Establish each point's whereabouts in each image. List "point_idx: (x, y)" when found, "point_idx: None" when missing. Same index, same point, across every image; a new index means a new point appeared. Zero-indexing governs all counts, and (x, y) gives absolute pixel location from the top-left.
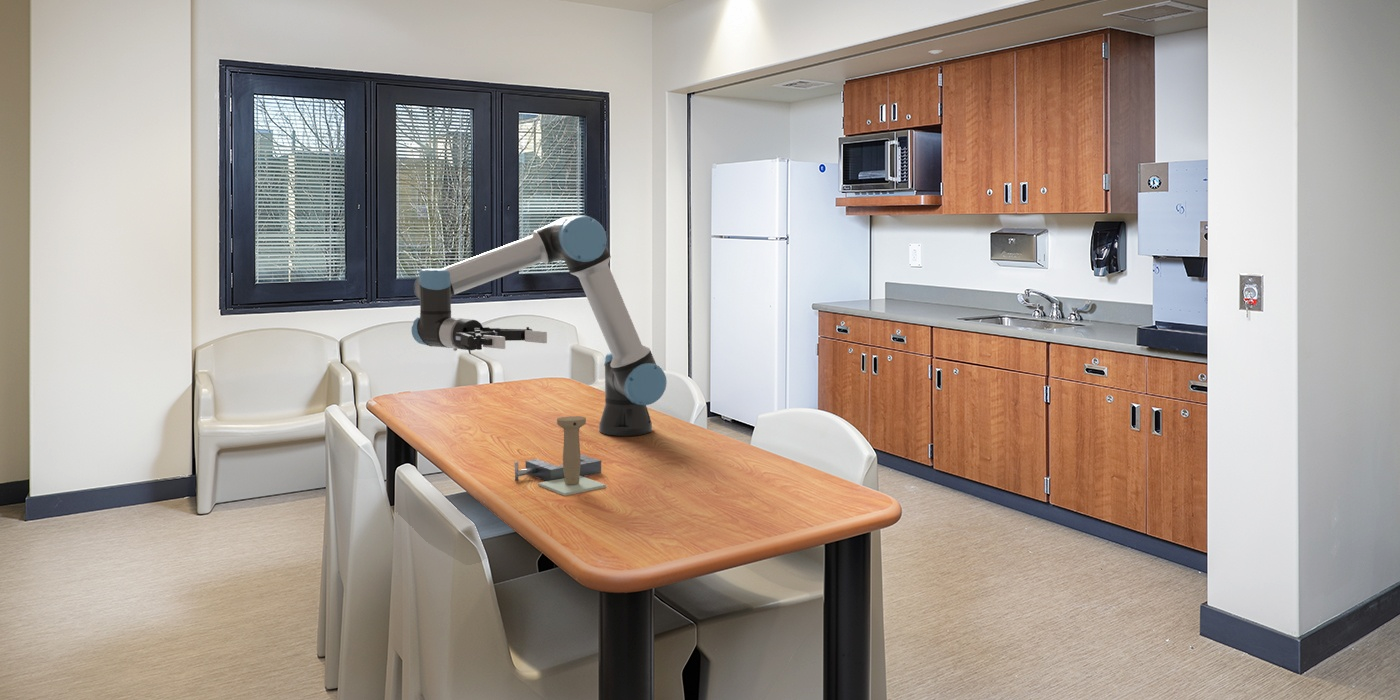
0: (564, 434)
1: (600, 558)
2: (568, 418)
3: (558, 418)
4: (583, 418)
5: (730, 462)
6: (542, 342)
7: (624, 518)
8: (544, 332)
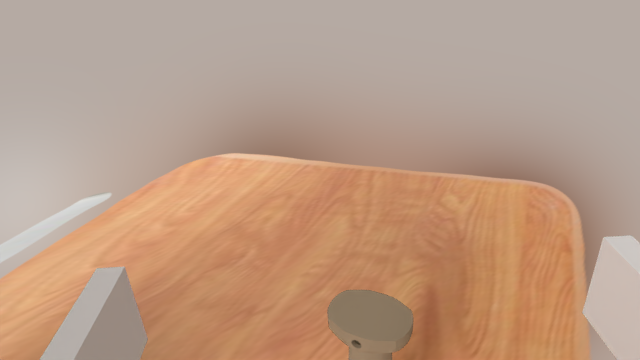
0: (390, 353)
1: (548, 210)
2: (374, 320)
3: (397, 336)
4: (344, 296)
5: (28, 329)
6: (138, 355)
7: (435, 263)
8: (124, 270)
